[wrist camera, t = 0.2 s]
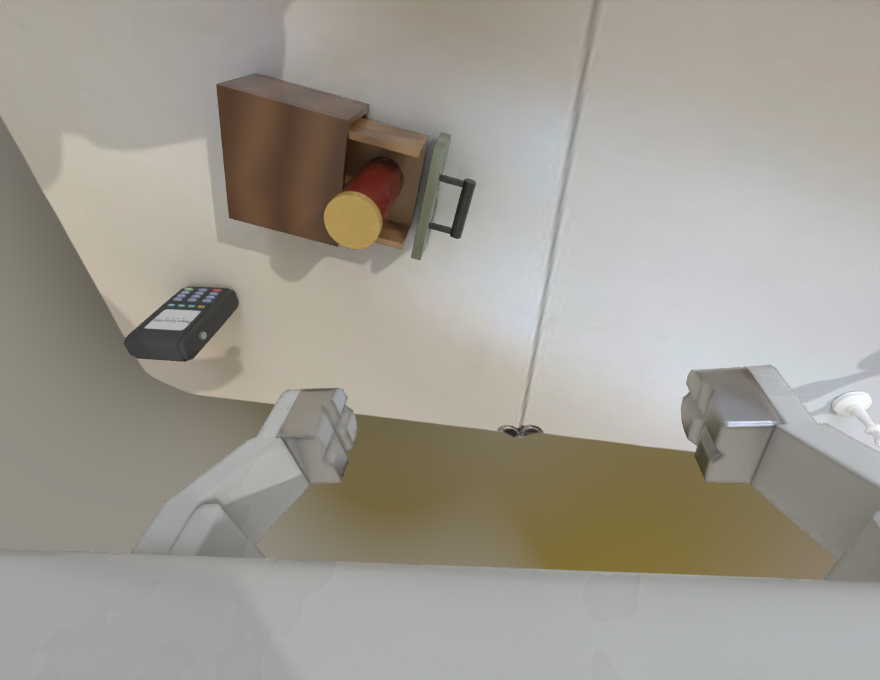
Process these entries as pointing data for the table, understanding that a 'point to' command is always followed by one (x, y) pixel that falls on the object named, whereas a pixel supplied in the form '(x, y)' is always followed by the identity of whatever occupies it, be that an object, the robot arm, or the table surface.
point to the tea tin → (364, 204)
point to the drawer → (407, 180)
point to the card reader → (182, 324)
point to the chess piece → (857, 411)
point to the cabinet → (284, 152)
